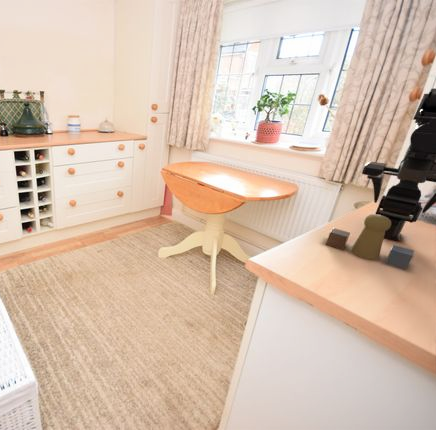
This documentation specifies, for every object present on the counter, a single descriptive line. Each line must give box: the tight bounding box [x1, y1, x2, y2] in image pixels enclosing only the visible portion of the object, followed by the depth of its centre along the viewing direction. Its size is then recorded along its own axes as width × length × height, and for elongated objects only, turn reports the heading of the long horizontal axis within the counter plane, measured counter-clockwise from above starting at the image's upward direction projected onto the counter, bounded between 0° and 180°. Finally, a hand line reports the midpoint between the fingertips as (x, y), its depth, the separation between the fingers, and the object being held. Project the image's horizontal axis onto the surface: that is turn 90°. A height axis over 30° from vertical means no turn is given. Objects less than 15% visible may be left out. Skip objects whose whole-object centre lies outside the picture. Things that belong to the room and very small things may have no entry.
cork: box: [350, 214, 391, 261], centre depth 76 cm, size 6×6×11 cm
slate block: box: [384, 244, 415, 271], centre depth 73 cm, size 4×4×4 cm
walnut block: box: [325, 227, 351, 250], centre depth 82 cm, size 4×4×4 cm
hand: (398, 207), depth 75 cm, fingers open, 9 cm apart
